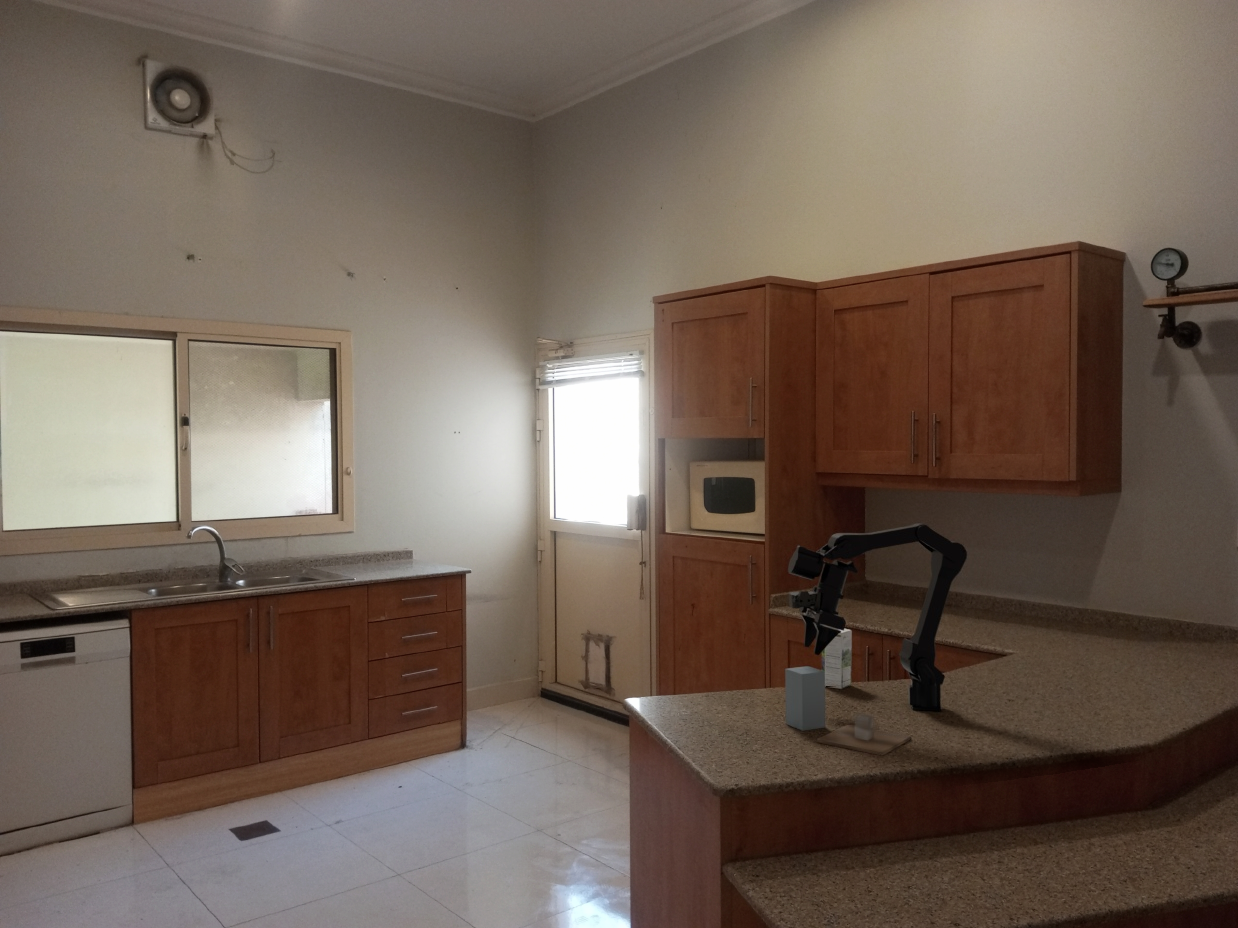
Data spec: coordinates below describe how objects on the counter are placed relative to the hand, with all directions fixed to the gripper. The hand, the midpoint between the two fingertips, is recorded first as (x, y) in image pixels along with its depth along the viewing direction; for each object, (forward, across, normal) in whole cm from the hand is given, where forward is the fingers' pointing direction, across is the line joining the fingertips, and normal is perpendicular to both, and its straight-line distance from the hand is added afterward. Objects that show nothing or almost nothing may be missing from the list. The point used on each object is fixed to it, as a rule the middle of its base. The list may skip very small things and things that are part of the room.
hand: (811, 650), depth 213 cm
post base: (+12, +25, +8) cm, 29 cm away
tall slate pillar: (+14, +13, 0) cm, 20 cm away
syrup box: (+9, -23, +16) cm, 29 cm away
